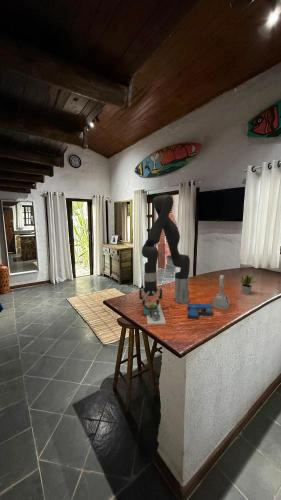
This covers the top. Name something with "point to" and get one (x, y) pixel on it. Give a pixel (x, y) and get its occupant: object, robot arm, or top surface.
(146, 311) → the cradle
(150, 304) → the yellow cube
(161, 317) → the base plate
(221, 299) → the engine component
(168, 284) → the top surface
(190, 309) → the stun gun
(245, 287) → the house plant
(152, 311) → the shaft
